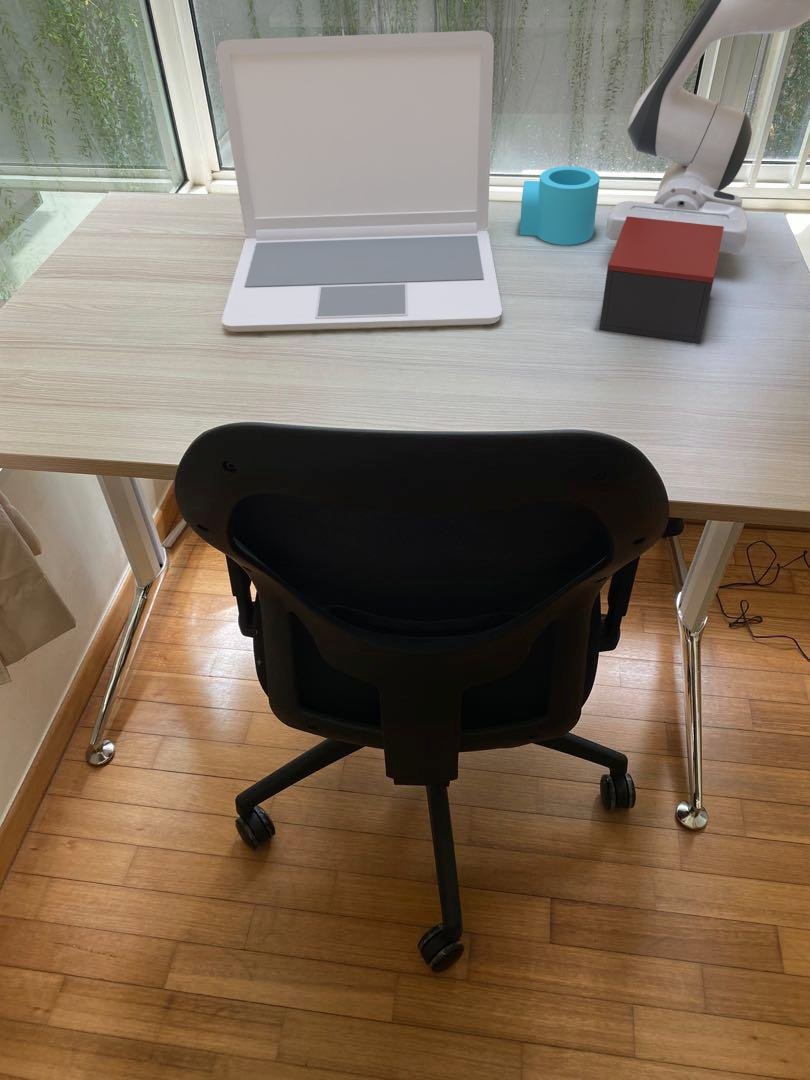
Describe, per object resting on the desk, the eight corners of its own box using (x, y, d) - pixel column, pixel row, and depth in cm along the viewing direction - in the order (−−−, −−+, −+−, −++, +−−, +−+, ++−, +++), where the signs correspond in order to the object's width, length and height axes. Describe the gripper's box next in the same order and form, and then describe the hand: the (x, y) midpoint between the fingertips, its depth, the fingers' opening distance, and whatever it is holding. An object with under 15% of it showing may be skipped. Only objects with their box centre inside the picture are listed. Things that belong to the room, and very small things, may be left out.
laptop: (221, 337, 124) (176, 104, 103) (248, 243, 146) (215, 37, 126) (502, 328, 123) (514, 92, 102) (486, 235, 146) (493, 27, 125)
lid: (626, 221, 127) (626, 216, 127) (722, 231, 124) (724, 226, 123) (607, 270, 116) (607, 264, 116) (712, 283, 113) (714, 277, 112)
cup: (517, 242, 144) (520, 186, 137) (523, 218, 150) (527, 164, 144) (591, 246, 142) (598, 190, 135) (594, 222, 148) (601, 167, 142)
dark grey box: (615, 285, 132) (623, 228, 126) (708, 297, 128) (721, 239, 122) (599, 329, 122) (607, 270, 116) (699, 343, 119) (712, 283, 113)
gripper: (615, 185, 136) (600, 220, 127) (753, 197, 131) (747, 236, 121) (610, 224, 140) (595, 261, 131) (743, 238, 135) (737, 278, 126)
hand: (669, 249), depth 126 cm, fingers closed
